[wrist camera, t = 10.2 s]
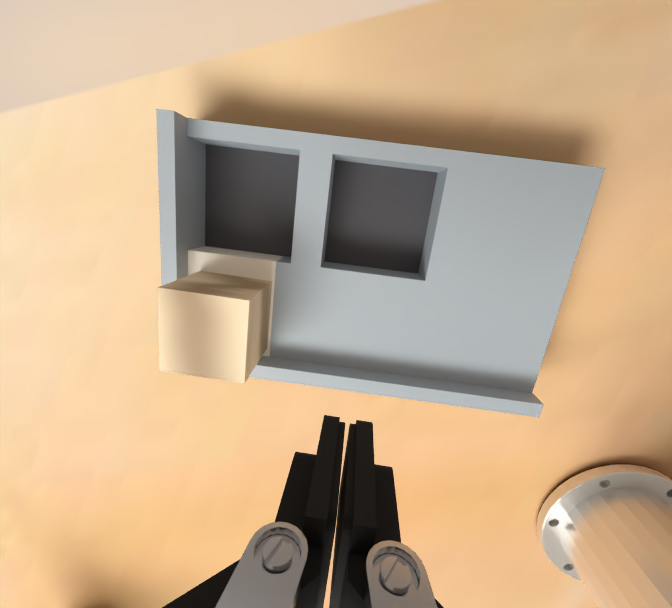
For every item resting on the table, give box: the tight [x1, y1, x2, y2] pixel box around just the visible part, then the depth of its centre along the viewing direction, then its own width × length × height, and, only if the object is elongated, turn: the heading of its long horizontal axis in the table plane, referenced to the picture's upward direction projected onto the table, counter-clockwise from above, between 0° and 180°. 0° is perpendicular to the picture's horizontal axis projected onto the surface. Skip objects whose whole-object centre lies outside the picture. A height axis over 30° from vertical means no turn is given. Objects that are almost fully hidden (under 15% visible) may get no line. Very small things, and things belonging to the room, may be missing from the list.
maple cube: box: [158, 271, 272, 383], centre depth 21 cm, size 5×5×5 cm
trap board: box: [156, 109, 605, 417], centre depth 23 cm, size 26×16×4 cm, turn 83°
